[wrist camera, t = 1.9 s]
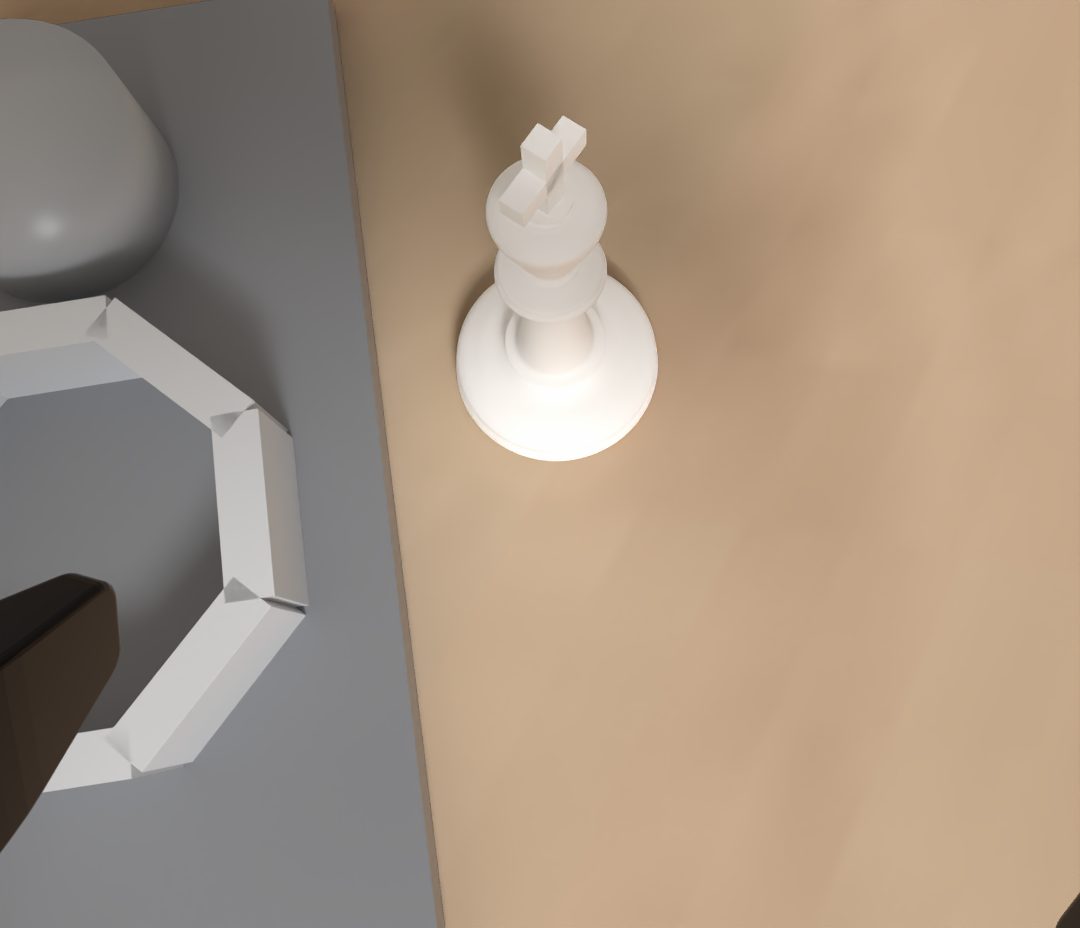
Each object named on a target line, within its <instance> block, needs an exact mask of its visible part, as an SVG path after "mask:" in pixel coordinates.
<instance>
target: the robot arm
mask: <svg viewBox="0 0 1080 928" xmlns="http://www.w3.org/2000/svg"><path fill="white" fill-rule="evenodd" d="M120 650H121V642H120V631H119V620H118V609H117V598H116V592H115V590H114V588H113V587H112V585H111V584H109V583H108V582H106V581H102V580H99V579H95V578H92V577H88V576H85V575H81V574H77V573H66V574H63V575H59V576H57V577H54V578H52V579H50V580H47V581H45V582H42V583H40V584H37V585H35V586H32V587H30V588H27V589H25V590H22V591H20V592H18V593H15V594H13V595H10V596H8V597H5V598H3V599H0V853H1V852H2V850H3V849H4V848H5V846H6V845H7V844H8V842H9V841H10V840H11V838H12V837H13V835H14V834H15V833H16V831H17V830H18V828H19V827H20V826H21V824H22V823H23V821H24V820H25V819H26V817H27V816H28V814H29V813H30V811H31V810H32V808H33V806H34V805H35V803H36V802H37V800H38V799H39V797H40V795H41V794H42V792H43V791H44V789H45V787H46V786H47V784H48V782H49V781H50V779H51V777H52V775H53V774H54V772H55V770H56V769H57V767H58V765H59V764H60V762H61V760H62V759H63V757H64V755H65V754H66V752H67V750H68V749H69V747H70V745H71V743H72V742H73V740H74V738H75V737H76V735H77V733H78V732H79V730H80V728H81V727H82V725H83V723H84V722H85V720H86V718H87V716H88V715H89V713H90V711H91V710H92V708H93V706H94V705H95V703H96V701H97V700H98V698H99V696H100V695H101V693H102V691H103V690H104V688H105V686H106V684H107V683H108V681H109V679H110V678H111V676H112V674H113V672H114V671H115V668H116V666H117V663H118V660H119V657H120ZM1056 928H1080V893H1079V894H1078V896H1077V897H1076V898H1075V899H1074V901H1073V902H1072V903H1071V905H1070V906H1069V907H1068V909H1067V910H1066V911H1065V912H1064V914H1063V915H1062V916H1061V918H1060V919H1059V921H1058V923H1057V925H1056Z"/></svg>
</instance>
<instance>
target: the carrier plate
mask: <svg viewBox="0 0 1080 928" xmlns="http://www.w3.org/2000/svg"><path fill="white" fill-rule="evenodd" d="M66 573H77V574H81V575H85V576H88V577H92V578H95V579H99V580H102V581H106V582H108V583H109V584H111V585H112V587H113V588H114V590H115V592H116V598H117V609H118V620H119V631H120V642H121V650H120V657H119V660H118V663H117V666H116V668H115V671H114V672H113V674H112V676H111V678H110V679H109V681H108V683H107V684H106V686H105V688H104V690H103V691H102V693H101V695H100V696H99V698H98V700H97V701H96V703H95V705H94V706H93V708H92V710H91V711H90V713H89V715H88V716H87V718H86V720H85V722H84V723H83V725H82V727H81V728H80V730H79V732H78V733H77V735H76V737H75V738H74V740H73V742H72V743H71V745H70V747H69V749H68V750H67V752H66V754H65V755H64V757H63V759H62V760H61V762H60V764H59V765H58V767H57V769H56V770H55V772H54V774H53V775H52V777H51V779H50V781H49V782H48V784H47V786H46V787H45V789H44V791H43V792H42V794H41V795H40V797H39V799H38V800H37V802H36V803H35V805H34V806H33V808H32V810H31V811H30V813H29V814H28V816H27V817H26V819H25V820H24V821H23V823H22V824H21V826H20V827H19V828H18V830H17V831H16V833H15V834H14V835H13V837H12V838H11V840H10V841H9V842H8V844H7V845H6V846H5V848H4V849H3V850H2V852H1V853H0V928H445V923H444V915H443V907H442V898H441V890H440V881H439V873H438V865H437V856H436V848H435V840H434V831H433V823H432V815H431V806H430V798H429V790H428V781H427V773H426V764H425V756H424V748H423V739H422V731H421V723H420V714H419V706H418V698H417V689H416V681H415V672H414V664H413V656H412V647H411V639H410V631H409V622H408V614H407V606H406V597H405V589H404V581H403V572H402V564H401V555H400V547H399V539H398V530H397V522H396V514H395V505H394V497H393V489H392V480H391V472H390V464H389V455H388V447H387V438H386V430H385V422H384V413H383V405H382V397H381V388H380V380H379V372H378V363H377V355H376V347H375V338H374V330H373V321H372V313H371V305H370V296H369V288H368V280H367V271H366V263H365V255H364V246H363V238H362V230H361V221H360V213H359V204H358V196H357V188H356V179H355V171H354V163H353V154H352V146H351V138H350V129H349V121H348V113H347V104H346V96H345V87H344V79H343V71H342V62H341V54H340V46H339V37H338V29H337V21H336V12H335V7H334V4H333V1H332V0H208V1H202V2H196V3H189V4H183V5H177V6H171V7H164V8H158V9H152V10H145V11H139V12H133V13H127V14H120V15H114V16H108V17H101V18H95V19H89V20H83V21H76V22H70V23H64V24H57V25H55V24H51V23H47V22H43V21H38V20H31V19H2V20H0V599H3V598H5V597H8V596H10V595H13V594H15V593H18V592H20V591H22V590H25V589H27V588H30V587H32V586H35V585H37V584H40V583H42V582H45V581H47V580H50V579H52V578H54V577H57V576H59V575H63V574H66Z"/></svg>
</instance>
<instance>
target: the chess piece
mask: <svg viewBox="0 0 1080 928" xmlns="http://www.w3.org/2000/svg"><path fill="white" fill-rule="evenodd" d="M585 146H586V129H585V128H583V127H581V126H580V125H578V124H576V123H575V122H573V121H571V120H570V119H568V118H566V117H565V116H562V117H561V118H560V120H559V121H558V122H557V124H556V125H555V126H554V128H553V129H552V130H551V131H550V130H548V129H547V128H545V127H543V126H542V125H540V124H538V123H537V124H536V126H535V127H534V128H533V130H532V131H531V132H530V134H529V135H528V136H527V138H526V139H525V140H524V142H523V143H522V144H521V145H520V147H521V156H522V159H521V160H519V161H517V162H515V163H514V164H512V165H511V166H509V167H508V168H507V169H506V170H504V171H503V172H502V173H501V174H500V176H499V177H498V178H497V179H496V181H495V182H494V184H493V186H492V187H491V190H490V192H489V195H488V198H487V202H486V222H487V226H488V229H489V232H490V235H491V237H492V239H493V240H494V242H495V244H496V245H497V246H498V248H499V250H498V253H497V256H496V259H495V264H494V278H495V283H494V284H492V285H491V286H490V287H489V288H488V289H487V290H486V291H485V292H484V293H483V294H482V295H481V296H480V297H479V298H478V299H477V301H476V302H475V303H474V305H473V306H472V308H471V309H470V311H469V313H468V314H467V316H466V318H465V320H464V323H463V325H462V328H461V331H460V335H459V339H458V344H457V354H456V375H457V382H458V387H459V391H460V394H461V397H462V400H463V402H464V404H465V406H466V408H467V410H468V412H469V414H470V415H471V417H472V418H473V420H474V421H475V422H476V424H477V425H478V426H479V427H480V428H481V429H482V430H483V431H484V432H485V433H486V434H487V435H488V436H489V437H490V438H491V439H493V440H494V441H495V442H497V443H498V444H500V445H501V446H503V447H505V448H506V449H508V450H510V451H512V452H515V453H517V454H520V455H522V456H525V457H529V458H533V459H538V460H545V461H567V460H574V459H579V458H583V457H587V456H590V455H593V454H595V453H598V452H600V451H602V450H604V449H606V448H608V447H610V446H611V445H613V444H614V443H616V442H617V441H619V440H620V439H621V438H622V437H624V436H625V435H626V434H627V433H628V432H629V431H630V430H631V429H632V428H633V427H634V426H635V425H636V423H637V422H638V421H639V420H640V418H641V417H642V415H643V414H644V412H645V410H646V409H647V407H648V405H649V403H650V400H651V398H652V395H653V392H654V389H655V385H656V380H657V373H658V354H657V347H656V342H655V337H654V333H653V330H652V327H651V324H650V321H649V319H648V317H647V315H646V313H645V311H644V309H643V308H642V306H641V305H640V303H639V302H638V301H637V299H636V298H635V297H634V296H633V295H632V293H631V292H630V291H629V290H628V289H627V288H625V287H624V286H623V285H622V284H621V283H619V282H618V281H617V280H615V279H614V278H612V277H611V276H609V275H607V262H606V257H605V254H604V251H603V249H602V247H601V245H600V243H599V242H598V241H599V239H600V237H601V235H602V233H603V231H604V228H605V224H606V220H607V201H606V197H605V193H604V190H603V188H602V186H601V184H600V182H599V181H598V179H597V178H596V177H595V175H594V174H593V173H592V172H591V171H590V170H589V169H588V168H586V167H585V166H584V165H582V164H581V163H579V162H577V161H575V159H576V158H577V157H578V155H579V154H580V153H581V151H582V150H583V149H584V147H585Z"/></svg>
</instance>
